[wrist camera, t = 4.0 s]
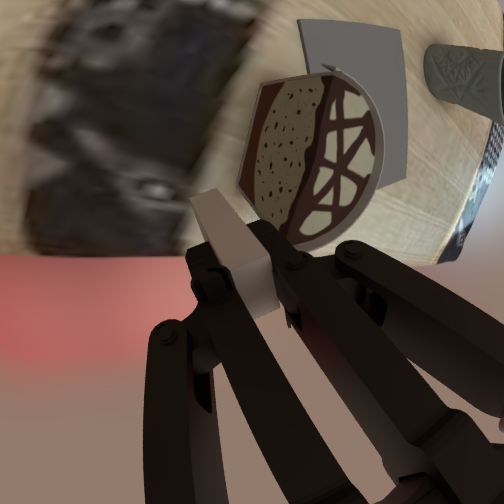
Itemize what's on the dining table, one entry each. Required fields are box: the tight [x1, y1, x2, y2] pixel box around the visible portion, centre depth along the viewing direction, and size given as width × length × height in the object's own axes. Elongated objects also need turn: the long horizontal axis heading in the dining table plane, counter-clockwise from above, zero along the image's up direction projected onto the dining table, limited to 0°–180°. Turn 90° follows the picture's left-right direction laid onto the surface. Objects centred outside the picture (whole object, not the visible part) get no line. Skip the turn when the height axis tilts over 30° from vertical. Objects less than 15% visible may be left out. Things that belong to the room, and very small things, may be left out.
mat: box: [297, 19, 408, 190], centre depth 24 cm, size 14×20×1 cm
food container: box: [236, 63, 385, 253], centre depth 19 cm, size 12×6×10 cm, turn 166°
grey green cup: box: [424, 44, 504, 126], centre depth 19 cm, size 10×10×12 cm
